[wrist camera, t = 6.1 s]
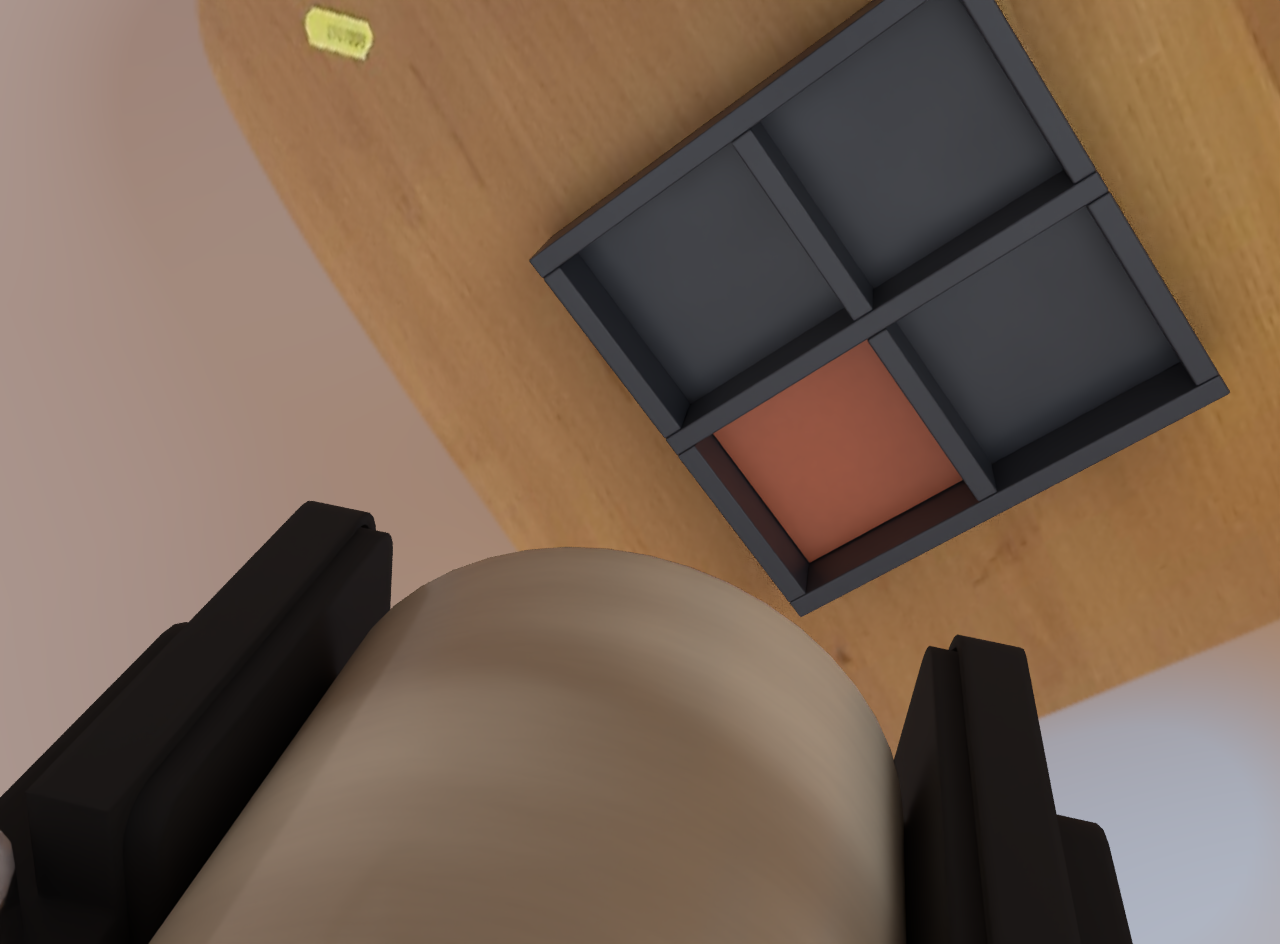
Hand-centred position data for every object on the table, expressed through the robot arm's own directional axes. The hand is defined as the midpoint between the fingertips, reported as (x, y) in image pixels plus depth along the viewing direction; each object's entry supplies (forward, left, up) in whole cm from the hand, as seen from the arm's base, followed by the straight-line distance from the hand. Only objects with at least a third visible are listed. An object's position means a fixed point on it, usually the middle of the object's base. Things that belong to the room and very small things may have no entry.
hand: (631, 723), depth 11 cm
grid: (+3, -5, -30) cm, 30 cm away
